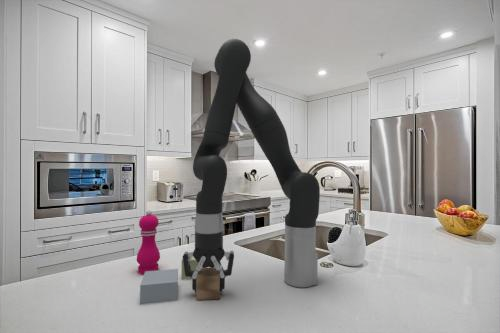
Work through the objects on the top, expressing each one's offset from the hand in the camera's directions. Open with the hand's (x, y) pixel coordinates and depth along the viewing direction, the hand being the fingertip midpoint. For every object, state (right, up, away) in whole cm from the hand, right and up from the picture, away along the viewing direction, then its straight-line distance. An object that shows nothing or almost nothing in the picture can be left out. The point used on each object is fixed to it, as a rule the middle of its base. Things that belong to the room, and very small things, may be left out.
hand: (208, 290), depth 72 cm
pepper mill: (-22, -1, +15) cm, 27 cm away
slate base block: (-13, -1, 0) cm, 13 cm away
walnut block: (0, -1, 0) cm, 1 cm away
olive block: (-7, -1, +13) cm, 14 cm away
